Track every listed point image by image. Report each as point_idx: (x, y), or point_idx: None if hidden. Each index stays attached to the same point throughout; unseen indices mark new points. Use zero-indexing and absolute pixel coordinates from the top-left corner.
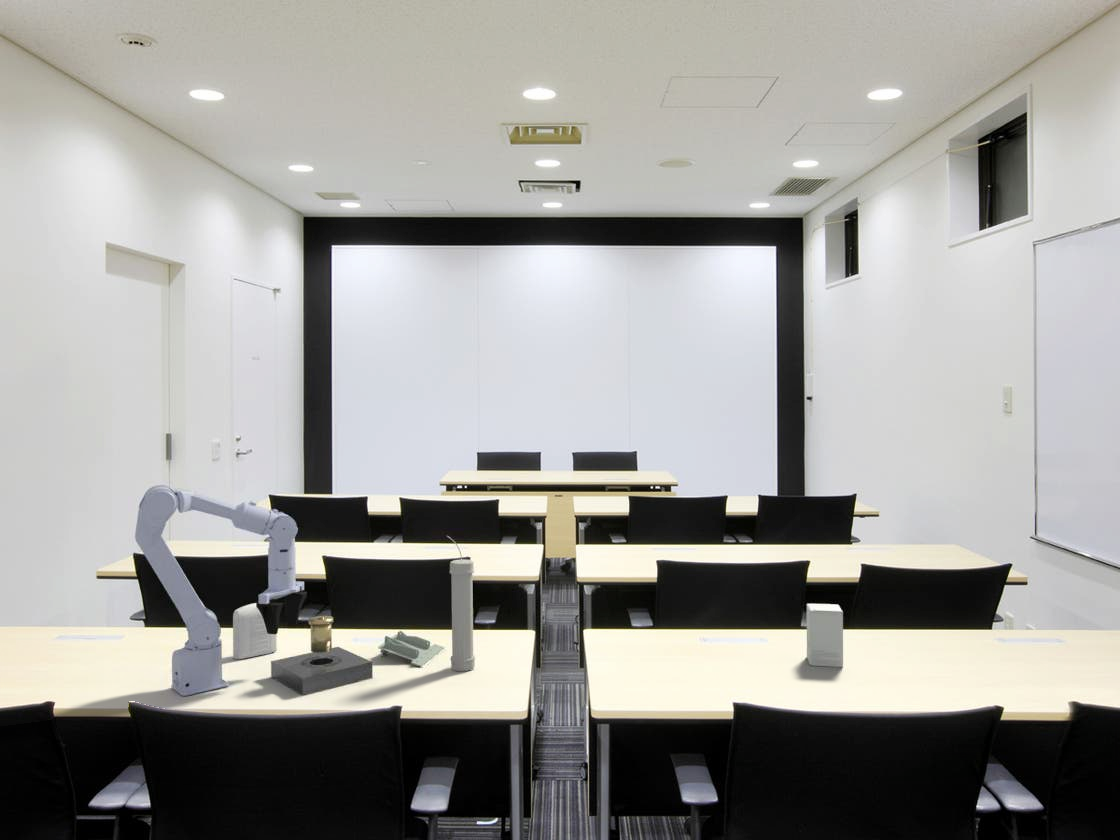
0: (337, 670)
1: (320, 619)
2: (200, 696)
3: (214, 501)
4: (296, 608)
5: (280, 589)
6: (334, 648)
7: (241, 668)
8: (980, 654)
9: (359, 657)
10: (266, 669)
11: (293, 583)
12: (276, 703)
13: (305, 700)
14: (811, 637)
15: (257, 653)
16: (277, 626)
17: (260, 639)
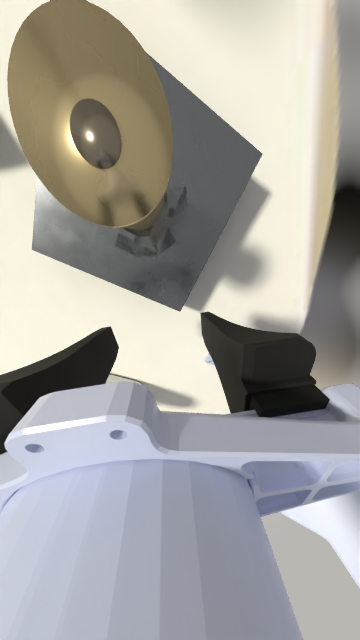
0: (180, 84)
1: (114, 121)
2: (265, 329)
3: None
4: (81, 358)
5: (247, 495)
6: (48, 247)
7: (163, 360)
8: None
9: None
10: (153, 331)
11: (47, 612)
12: (286, 197)
13: (268, 141)
14: None
15: (118, 378)
16: (213, 316)
17: None
